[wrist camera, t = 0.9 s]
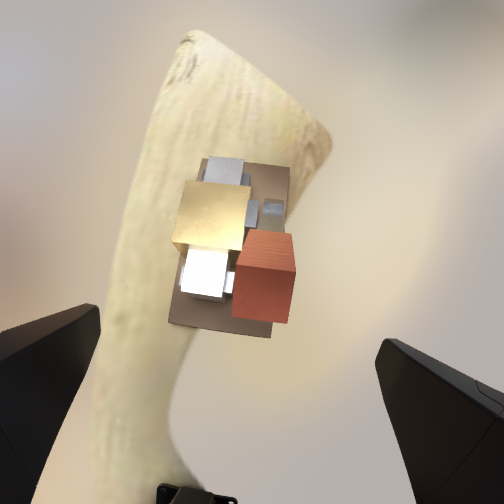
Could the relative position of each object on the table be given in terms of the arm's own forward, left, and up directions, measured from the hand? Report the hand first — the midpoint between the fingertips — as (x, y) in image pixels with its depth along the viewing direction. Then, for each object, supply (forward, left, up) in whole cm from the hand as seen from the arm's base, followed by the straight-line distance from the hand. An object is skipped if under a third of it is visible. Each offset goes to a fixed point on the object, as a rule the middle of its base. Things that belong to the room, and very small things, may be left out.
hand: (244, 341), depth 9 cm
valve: (+8, +3, -14) cm, 16 cm away
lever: (+8, 0, -8) cm, 11 cm away
